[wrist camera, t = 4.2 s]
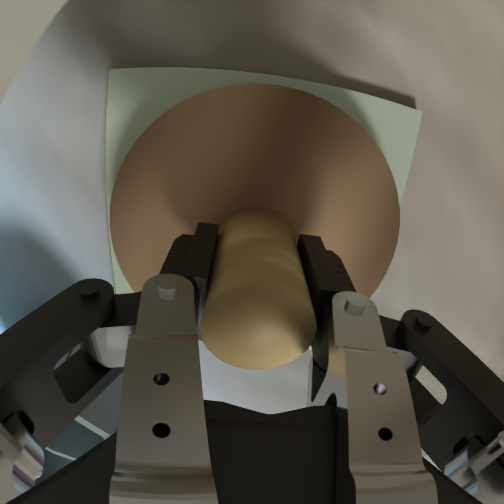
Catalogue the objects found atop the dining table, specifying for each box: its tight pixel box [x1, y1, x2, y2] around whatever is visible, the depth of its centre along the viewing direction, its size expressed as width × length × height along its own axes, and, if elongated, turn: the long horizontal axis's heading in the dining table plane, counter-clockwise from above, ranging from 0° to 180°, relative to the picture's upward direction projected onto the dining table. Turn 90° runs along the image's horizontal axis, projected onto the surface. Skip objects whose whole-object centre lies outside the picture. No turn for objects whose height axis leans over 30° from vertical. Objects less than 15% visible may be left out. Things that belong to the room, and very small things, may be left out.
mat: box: [106, 67, 422, 294], centre depth 14 cm, size 13×13×1 cm
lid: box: [110, 83, 400, 370], centre depth 10 cm, size 12×12×6 cm
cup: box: [45, 344, 123, 460], centre depth 16 cm, size 10×10×6 cm
